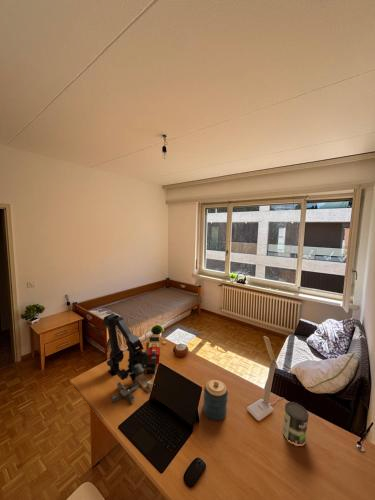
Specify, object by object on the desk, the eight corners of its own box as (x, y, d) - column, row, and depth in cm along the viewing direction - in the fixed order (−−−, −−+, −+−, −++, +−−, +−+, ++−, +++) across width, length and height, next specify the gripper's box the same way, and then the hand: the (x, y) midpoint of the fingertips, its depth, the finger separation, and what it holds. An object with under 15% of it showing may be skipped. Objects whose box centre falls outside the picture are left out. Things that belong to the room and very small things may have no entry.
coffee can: (310, 441, 100) (313, 414, 99) (296, 451, 96) (299, 423, 94) (291, 423, 109) (293, 398, 108) (277, 431, 105) (280, 405, 103)
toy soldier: (141, 379, 138) (144, 349, 167) (159, 378, 139) (159, 349, 168) (141, 360, 135) (144, 333, 164) (160, 359, 137) (160, 333, 166)
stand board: (133, 379, 135) (133, 373, 135) (141, 375, 139) (141, 369, 139) (148, 393, 124) (148, 387, 124) (155, 388, 129) (156, 382, 128)
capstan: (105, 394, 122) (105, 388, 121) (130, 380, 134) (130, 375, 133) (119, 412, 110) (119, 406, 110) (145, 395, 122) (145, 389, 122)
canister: (198, 410, 114) (199, 380, 113) (211, 397, 124) (213, 370, 122) (217, 426, 105) (219, 394, 104) (230, 411, 115) (233, 381, 113)
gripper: (127, 371, 118) (126, 396, 120) (153, 358, 132) (152, 381, 133) (117, 362, 126) (116, 386, 127) (143, 350, 139) (142, 372, 141)
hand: (132, 381), depth 132 cm, fingers closed
